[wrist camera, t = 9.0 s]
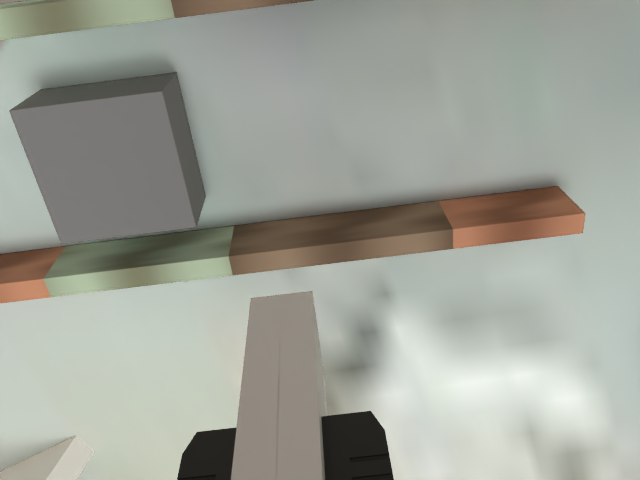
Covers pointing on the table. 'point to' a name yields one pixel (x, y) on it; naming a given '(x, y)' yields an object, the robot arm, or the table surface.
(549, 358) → the table surface
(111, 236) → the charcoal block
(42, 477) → the white bracket plate
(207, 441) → the robot arm
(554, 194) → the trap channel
